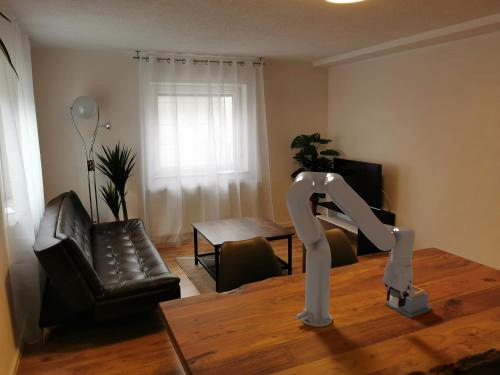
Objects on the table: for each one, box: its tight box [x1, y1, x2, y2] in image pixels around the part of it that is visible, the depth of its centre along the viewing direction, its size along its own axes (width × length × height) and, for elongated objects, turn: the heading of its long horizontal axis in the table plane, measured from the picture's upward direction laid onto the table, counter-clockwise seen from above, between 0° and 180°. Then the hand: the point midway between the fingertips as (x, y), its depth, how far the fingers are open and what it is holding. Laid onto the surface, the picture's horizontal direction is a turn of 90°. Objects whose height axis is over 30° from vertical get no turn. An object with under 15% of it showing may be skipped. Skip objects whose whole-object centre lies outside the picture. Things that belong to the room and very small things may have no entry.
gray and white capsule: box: [388, 288, 401, 307], centre depth 152 cm, size 5×5×6 cm
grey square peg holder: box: [384, 284, 433, 319], centre depth 167 cm, size 14×13×8 cm
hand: (395, 302), depth 152 cm, fingers closed on gray and white capsule, 4 cm apart
